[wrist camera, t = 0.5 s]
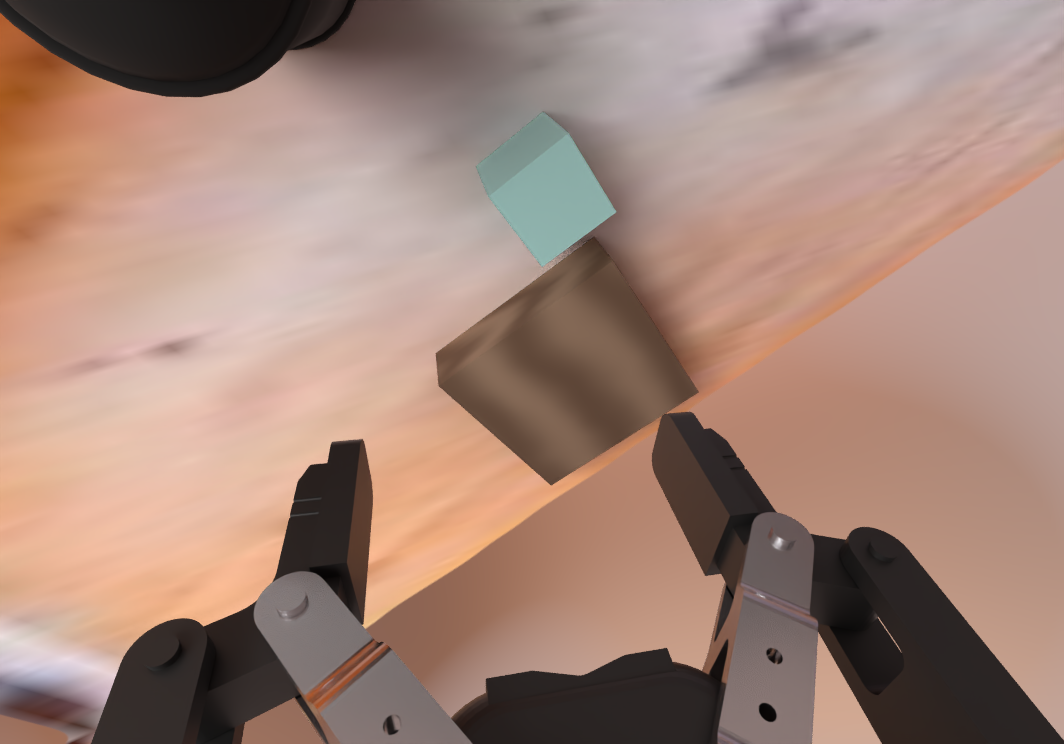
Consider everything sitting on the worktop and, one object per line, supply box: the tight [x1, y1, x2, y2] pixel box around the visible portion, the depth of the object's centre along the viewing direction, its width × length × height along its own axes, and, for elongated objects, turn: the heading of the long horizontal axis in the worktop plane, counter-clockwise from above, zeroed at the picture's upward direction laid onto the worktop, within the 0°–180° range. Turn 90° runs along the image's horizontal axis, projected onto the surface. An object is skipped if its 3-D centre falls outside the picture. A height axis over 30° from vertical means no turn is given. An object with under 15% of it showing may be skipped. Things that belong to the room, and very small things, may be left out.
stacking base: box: [436, 237, 698, 485], centre depth 39 cm, size 14×14×4 cm
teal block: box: [476, 112, 616, 267], centre depth 30 cm, size 5×5×6 cm
